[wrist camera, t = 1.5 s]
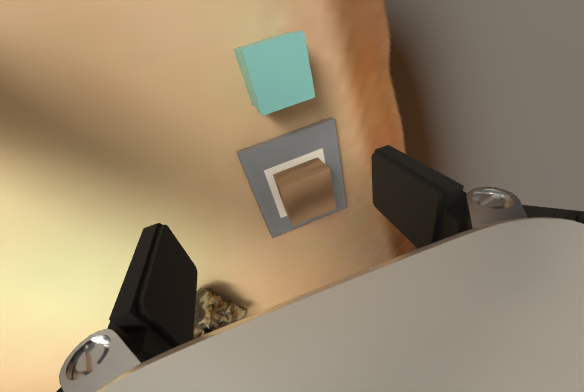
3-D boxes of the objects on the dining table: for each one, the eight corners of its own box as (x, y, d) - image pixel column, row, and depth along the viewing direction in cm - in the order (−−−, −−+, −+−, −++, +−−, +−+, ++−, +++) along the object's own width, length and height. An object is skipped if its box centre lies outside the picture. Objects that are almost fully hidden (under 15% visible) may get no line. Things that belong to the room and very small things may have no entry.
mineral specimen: (260, 300, 50) (272, 349, 42) (216, 336, 51) (219, 390, 43) (204, 274, 41) (206, 329, 33) (154, 318, 43) (143, 381, 35)
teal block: (233, 49, 26) (241, 49, 21) (284, 33, 27) (303, 30, 22) (252, 104, 29) (262, 115, 25) (296, 89, 30) (315, 97, 25)
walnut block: (272, 174, 34) (280, 187, 31) (317, 157, 35) (329, 168, 32) (285, 211, 38) (293, 226, 35) (325, 194, 39) (336, 208, 36)
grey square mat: (236, 151, 32) (237, 155, 31) (331, 117, 34) (335, 119, 33) (270, 234, 41) (272, 238, 40) (343, 203, 43) (347, 207, 42)
